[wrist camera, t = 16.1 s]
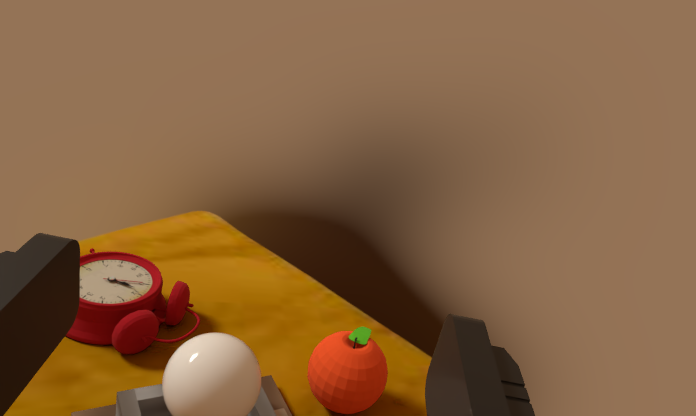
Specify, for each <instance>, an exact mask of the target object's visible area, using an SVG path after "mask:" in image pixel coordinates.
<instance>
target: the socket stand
mask: <svg viewBox="0 0 696 416" xmlns="http://www.w3.org/2000/svg"><path fill="white" fill-rule="evenodd" d="M71 416H172V415H171V414H170V412H169V410H168V408H167V406H166V404H165V401H164V397H163V391H162V384H160V385H154V386H148V387H143V388H137V389H132V390H126V391H120V392H117V402H116V404H115V405H110V406H104V407H99V408H94V409H88V410H83V411H78V412H72V414H71ZM248 416H292V414H291V412H290V410H289V408H288V407H287V405H286V403H285V401H284V399H283V397H282V395H281V393H280V391H279V390H278V388H277V386H276V384H275V382H274V380H273V378H272V376H271V375H270V376H265V377H261V389H260V393H259V397H258V399H257V402H256V404H255V406H254V407H253V409H252V410H251V412H250V413H249V414H248Z"/></svg>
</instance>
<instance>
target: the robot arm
mask: <svg viewBox="0 0 696 416" xmlns="http://www.w3.org/2000/svg"><path fill="white" fill-rule="evenodd" d="M79 302H80V247H79V243H78V241H76V240H73V239H68V238H63V237H57V236H53V235H48V234H43V233H39V234H36V235H35V236H34V237H33V238H31V239H30V240H29V241H28V242H27V243H26V244H25V245H23V246H22V247H21V248H20V249H19V250H18V251H16V252H10V251H5V252H3V253H0V416H3V415H4V414H5V413H6V411H7V410H8V409H9V407H10V406H11V405H12V404H13V402H14V401H15V400H16V398H17V397H18V396H19V395H20V393H21V392H22V391H23V389H24V388H25V387H26V386H27V384H28V383H29V382H30V380H31V379H32V378H33V377H34V375H35V374H36V373H37V371H38V370H39V369H40V368H41V366H42V365H43V364H44V362H45V361H46V360H47V359H48V357H49V356H50V355H51V353H52V352H53V351H54V349H55V348H56V347H57V346H58V344H59V343H60V342H61V340H62V339H63V338H64V337H65V335H66V334H67V333H68V331H69V330H70V329H71V327H72V325H73V323H74V321H75V319H76V316H77V313H78V308H79ZM524 386H525V384H524V381H523V378H522V375H521V372H520V369H519V366H518V365H517V364H516V362H515V361H514V360H513V359H512V357H511V356H510V355H509V354H508V353H507V351H506V350H505V349H504V348H501V347H496V346H491V344H490V340H489V337H488V333H487V330H486V326H485V323H484V322H483V321H482V320H478V319H473V318H468V317H463V316H457V315H452V314H449V315H448V316H447V317H446V319H445V322H444V324H443V327H442V331H441V333H440V336H439V339H438V343H437V345H436V348H435V352H434V355H433V357H432V360H431V363H430V366H429V369H428V374H427V379H426V387H425V399H426V409H427V416H535V414H534V411H533V408H532V405H531V404H530V403H529V402H530V399H529V396H528V393H527V390H526V388H524Z"/></svg>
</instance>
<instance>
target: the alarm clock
mask: <svg viewBox="0 0 696 416" xmlns="http://www.w3.org/2000/svg"><path fill="white" fill-rule="evenodd" d="M90 252H91V253H92V254H88V255H84V256H81V257H80V302H79V308H78V313H77V316H76V319H75V321H74V323H73V325H72V327H71V329H70V330H69V331H68V333H67V334H66V335H65V336H67V337H69V338H72V339H74V340H77V341H81V342H84V343H91V344H100V345H108V344H113V346H114V347H115V349H116V350H117V351H119V352H120V353H122V354H136V353H138V352H141V351H143V350H144V349H146V348H147V347H148V346H150V345H151V344H152V343H153V341H154V340H155V341H159V342H164V343H173V342H177V341H180V340H182V339H184V338H186V337H188V336H189V335H190V334H192V333H193V332H194V331H195V330H196V329H197V327H198V326H199V324H200V318H199V316H198V315H197V314H196V313H195V312H193V311H192V310H190V309H188V308H187V307H188V306H189V307H193V304H189V297H190V291H189V287H188V285H187V284H186V283H184V282H181V281H177V282H176V283H175V285H174V287H173V289H172V292H171V294H170V297H169V301H168V304H167V310H166V301H165V299H164V297H163V295H162V293H161V291H162V285H163V280H162V276H161V273H160V271H159V269H158V268H157V267H156V266H155V265H154V264H153V263H152V262H150V261H148V260H147V259H145V258H142V257H140V256H137V255H133V254H129V253H123V252H98V253H95V252H94V249H93V248H92V249H90ZM186 311H188V312H190V313H191V314H193V315H194V316H195V317H196V318H197V324H196V326H195V327H194V328H193V329H192V330H191V331H190V332H188V333H187V334H186V335H184V336H182V337H180V338H177V339H173V340H164V339H159V338H156V336H157V334H158V330H159V325H160V324H161V323H163V322H164V321H165V322H166V324H167V325H176V324H178V323H179V322H180V321H181V320H182V319H183V317H184V315H185V313H186ZM165 314H166V317H165ZM164 317H165V318H164Z"/></svg>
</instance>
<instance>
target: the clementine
mask: <svg viewBox="0 0 696 416" xmlns="http://www.w3.org/2000/svg"><path fill="white" fill-rule="evenodd" d="M370 334H371V329H368V328H366V327H359V328H357V329H356V330H354V331H341V332H336V333H334V334H332V335H330V336H328V337H326V338H324V339H323V340H322V341H321V342H320V343H319V344H318V345H317V346H316V348H315V349H314V351H313V353H312V355H311V358H310V360H309V365H308V380H309V384H310V387H311V391H312V392H313V394H314V396H315V397H316V398H317V400H318V401H319V402H320V403H321V404H322V405H323V406H324V407H326V408H328V409H329V410H331V411H334V412H337V413H341V414H354V413H357V412H360V411H363V410H366V409H367V408H369V407H371V406H372V405H373V404H374V403H375V402H376V401H377V400H378V399H379V397H380V396H381V394H382V392H383V390H384V388H385V385H386V382H387V374H388V372H387V364H386V359H385V357H384V354H383V352H382V351H381V349H380V347H379V346H378V345H377V344H376V343H375V342H374V341H373V340H372V339H371V338H369V336H370Z"/></svg>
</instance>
